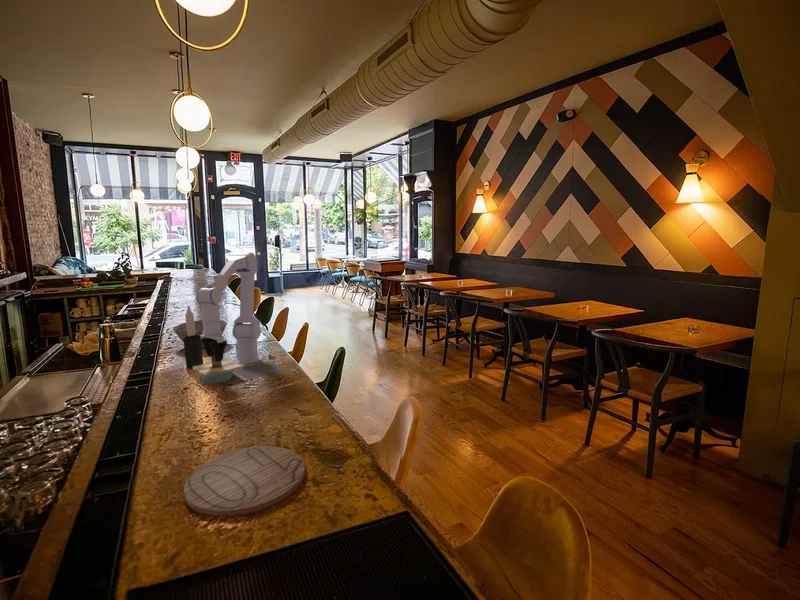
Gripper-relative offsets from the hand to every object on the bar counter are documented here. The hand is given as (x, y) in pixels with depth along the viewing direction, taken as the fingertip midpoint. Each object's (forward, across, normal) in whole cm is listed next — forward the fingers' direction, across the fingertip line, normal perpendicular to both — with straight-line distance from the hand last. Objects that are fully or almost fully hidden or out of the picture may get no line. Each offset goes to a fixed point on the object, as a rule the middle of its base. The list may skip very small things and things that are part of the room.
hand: (215, 358), depth 162 cm
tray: (+8, +2, +15) cm, 17 cm away
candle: (+8, -20, -1) cm, 22 cm away
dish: (+8, 0, 0) cm, 8 cm away
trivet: (+8, +70, -20) cm, 73 cm away
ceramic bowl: (+8, -52, +13) cm, 54 cm away
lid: (+4, 0, 0) cm, 4 cm away
